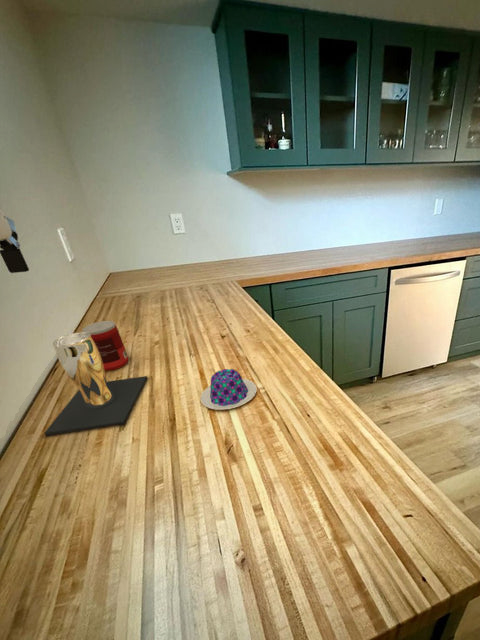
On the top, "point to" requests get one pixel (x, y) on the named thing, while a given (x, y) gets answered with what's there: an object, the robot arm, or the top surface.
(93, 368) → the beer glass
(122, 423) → the place mat
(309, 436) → the top surface
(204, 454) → the top surface
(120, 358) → the canned food
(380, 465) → the top surface
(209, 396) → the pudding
